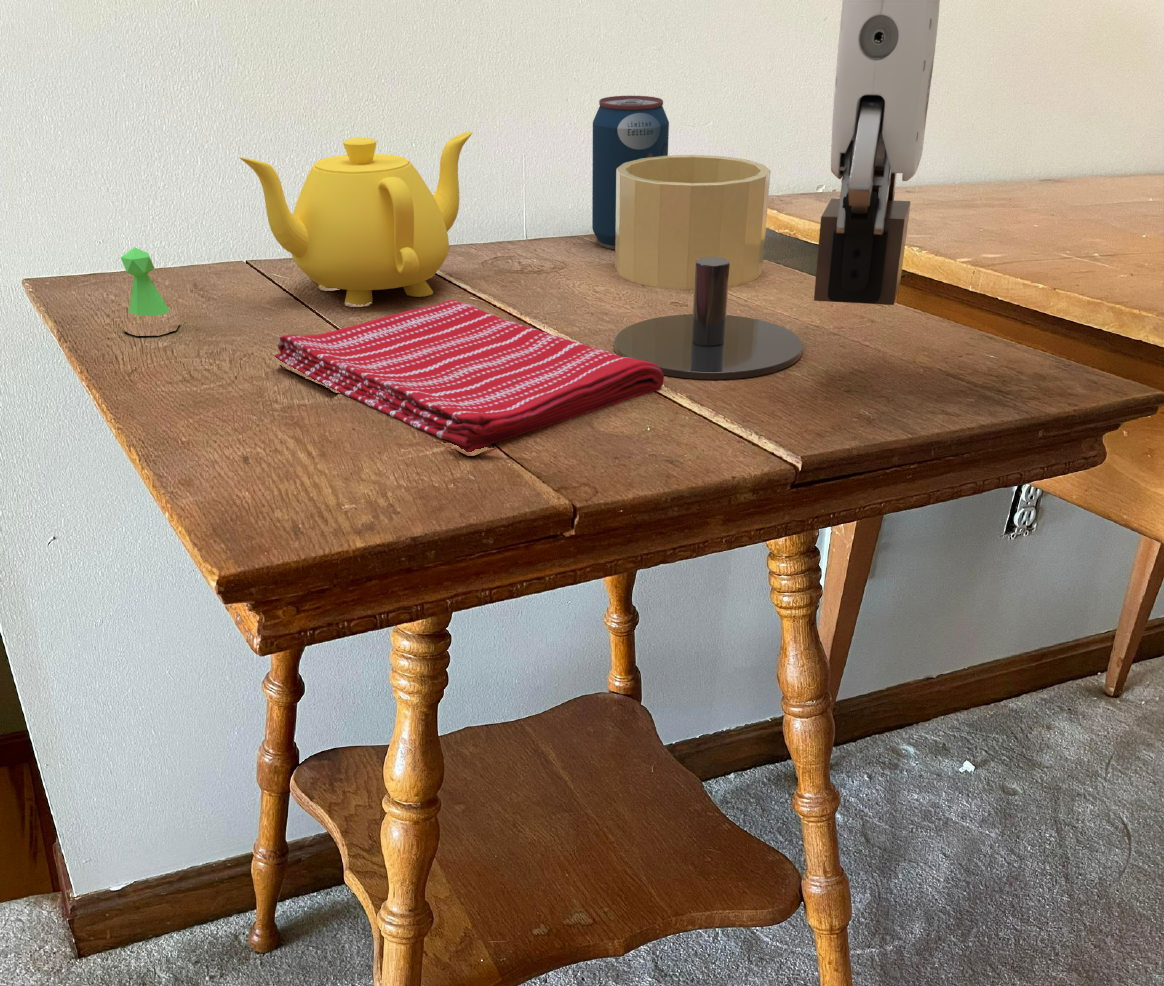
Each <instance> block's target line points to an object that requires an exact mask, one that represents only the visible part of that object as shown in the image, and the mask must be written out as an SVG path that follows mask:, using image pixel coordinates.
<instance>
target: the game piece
mask: <svg viewBox="0 0 1164 986" xmlns="http://www.w3.org/2000/svg"><path fill="white" fill-rule="evenodd" d="M120 260H121V261H122V265H123V267H124V269H125V272H126V274H128V275H132V276H133V280H132V281H133V282H132V287H131V288H132V289H131V294H130V301H129V302H130V303H129V309H128V313H129V312H130V313H133V314H135V315H141V316H158V315H162V314H163V315H164V314H166V313H168V311H169V310H170V308H169V307H168V305H167V303H166V302H165V300H164V299H163V297H162V296H161V294H160V292H159V291H158V289H157V287H156V286H155V284H154V282H153V281H152V280H151V278H150V276H149V273H151V272H152V271H153V270H154V269H155V266H154V263H153V261H152V258H151V256H150V254H149V252H148V251H145V250H143V249H140V248H137V247H133V248H131V249H130V250H128V251H127V252H126V253H124V254H123V255H121V256H120Z"/></svg>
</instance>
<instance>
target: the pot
mask: <svg viewBox="0 0 1164 986" xmlns="http://www.w3.org/2000/svg"><path fill="white" fill-rule="evenodd" d="M770 182H771V170H770V169H769V167H767V166H766V165H765V164H763V163H760V162H756V161H753V160H750V159H746V158H745V159H744V158H739V157H731V156H723V155H705V154H674V155H670V154H668V156H659V157H650V158H641V159H638V160H634V161H630V162H626V163H623V164H622V165H621V166H619V167H618V168H617V169H616V242H615V249H614V251H615V254H614V258H615V259H614V269H615V271H616V273H617V275H618V276H619V277H620V278H622V279H624V280H627V281H628V282H631V283H634V284H639V285H642V286H648V287H652V288H656V289H667V290H668V289H669V290H681V291H694V279H695V261H696V260H697V259H699V258H704V257H720V258H725V259H727V260H729V261H730V268H729V283H728V288H730V287H737V286H742V285H745V284H747V283H750V282H752V281H755V280H756V279H757V280H758V278H759V277H760V275H761V274H762V273H763V270H764V269H763V268H764V256H765V244H766V243H765V242H766V232H767V221H768V220H767V218H768V207H769V196H770Z"/></svg>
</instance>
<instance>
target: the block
mask: <svg viewBox="0 0 1164 986" xmlns="http://www.w3.org/2000/svg"><path fill="white" fill-rule="evenodd" d="M839 202H840V198H831V199H830V200H829V202H828V204H827V206H826V207H825V209H824V211H823V213H821V216H820V222H819V223H820V224H819V236H818V248H817V258H816V261H817V262H816V268H815V269H816V270H815V280H814V281H815V282H814V295H813V301H814V302H826V303H827V302H829V303H844V304H845V303H846V304H847V303H849V304H862V303H861V302H843V301H831V300H830V299H829V298H828V285H829V275H830V264H831V253H832V243H833V232H834V231H836V228H837V218H838V210H839ZM910 210H911V201H910V200H894V201H893V200H887V207H886V215H885V222H884V230H883V233H888V235H887V244H886V252H885V260H884V269H883V277H882V285H881V294H880V298H879V300H878V301H877V302H875V303H863V304H864V305H865V304H868V305H881V306H882V305H883V306H885V305H886V306H894V305H895V303H896V299H897V295H898V292H899V288H900V285H901V280H902V272H903V265H904V257H905V249H906V242H907V232H908V224H909V217H910Z"/></svg>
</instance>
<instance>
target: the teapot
mask: <svg viewBox="0 0 1164 986" xmlns="http://www.w3.org/2000/svg"><path fill="white" fill-rule="evenodd" d="M472 134H473V131H472V130H471V131H466V132H463V133H461V134H459V135H456V136H454V137H452V138H451V139H449V140H448V141H447V142H446V144H445V145H444V147H443V149H442V151H441V155H440V161H439V175H438V183H437V186H436V189H435V191H434V192H433V193H432V191H431V190H430V188H429V187H428V185H427V184H426V182H425V180H424V179H423V178H422V176H421V174H420V172H419V171H418V170H417V168H416V167H415V166H414V164H413V163H412V161H410V160H409V159H407V158H406V157H404V156H400V155H395V154H388V153H376V148H377V140H375V139H373V138H371V137H353V138H348V139H344V141H342V145H343V147H344V150H345V152H346V154H342V155H334V156H329V157H325V158H322V159H318V160H317V161H315V162H314V164H313V165H312V166H311V168H310V170H309V173H307V176H306V178H305V181H304V183H303V185H302V187H301V190H300V193H299V195H298V198H297V201H296V204H295V207H294V210H293V213H292V212H291V210H290V208H289V206H288V203H287V200H286V196H285V194H284V189H283V186H282V182H281V179H280V177H279V174H278V173H277V171H276V170H275V168H274V167H273V166H272V165H270V163H268V162H266V161H261V160H256V159H251V158H246V157H240V156H239V157H238V159H239V160H241V161H242V162H243V163H245V164H246V165H248V167H249V168H251V169H252V170H253V172H254V173H255V174H256V176H257V177H258V179H259V183H260V184H261V187H262V192H263V196H264V197H263V198H264V204H265V210H266V217H267V222H268V225H269V228H270V231H271V233H272V235H273V237H274V238H275V240H276V242H277V243H278V244H279V245H280V246H281V248H283V249H284V250H285V251H287V252H288V253H290V254H291V258H292V259H293V261H294V263H295V264H296V265H297V267H299V269H300V270H301V271H302V272H303V273H304V274H305V276H307V277H308V278H309V279H310V280H311V281H312V282H314V283H316V284H317V285H318V287H319V286H322V287H325V288H337V289H342V290H346V294H345V299H344V302H345V301H346V302H349V303H352V304H356V305H358V304H359V305H361V304H363V305H365V304H367V303H369V302H372V301H373V291H378V290H380V291H381V290H389V289H397V288H403V290H404V292H405V294H406V295H407V296H409V295H410V296H409V297H415V298H416V297H418V298H421V297H422V298H423V297H426V296H427V297H428V296H432V295H433V294H434V291H433V290H432V288H431V286H430V285H429V284H428V282H427V281H428V280H429V279H431V278H433V277H434V276H435V275H436V274H437V272H439V270H440V268H441V267H442V265H443V264H444V262H445V261H446V259H447V257H448V256H449V252H450V242H449V235H448V232H449V231H450V230H451V228H452V227H453V226H454V223H455V222H456V219H457V217H458V213H459V208H460V184H459V159H460V154H461V153H462V149H463V147H464V145H465V144H466V143H467V142H468V139H469V138H470V137H471V136H472Z"/></svg>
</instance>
